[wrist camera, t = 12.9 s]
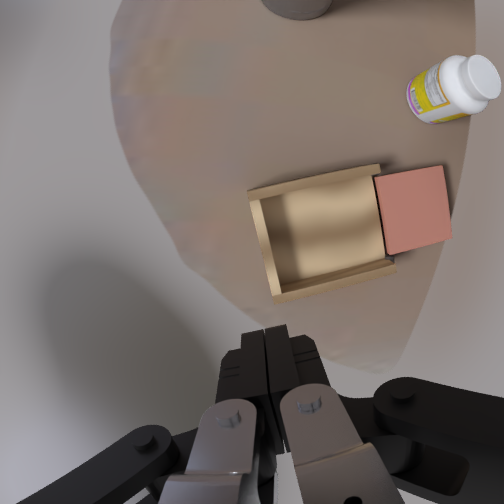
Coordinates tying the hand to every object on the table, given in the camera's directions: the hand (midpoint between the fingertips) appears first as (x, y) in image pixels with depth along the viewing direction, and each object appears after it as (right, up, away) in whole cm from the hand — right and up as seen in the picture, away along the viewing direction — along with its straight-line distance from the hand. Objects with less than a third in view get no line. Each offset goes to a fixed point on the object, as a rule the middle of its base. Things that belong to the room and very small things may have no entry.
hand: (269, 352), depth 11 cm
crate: (+7, +6, +26) cm, 28 cm away
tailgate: (+14, +7, +24) cm, 29 cm away
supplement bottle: (+22, +23, +23) cm, 39 cm away
